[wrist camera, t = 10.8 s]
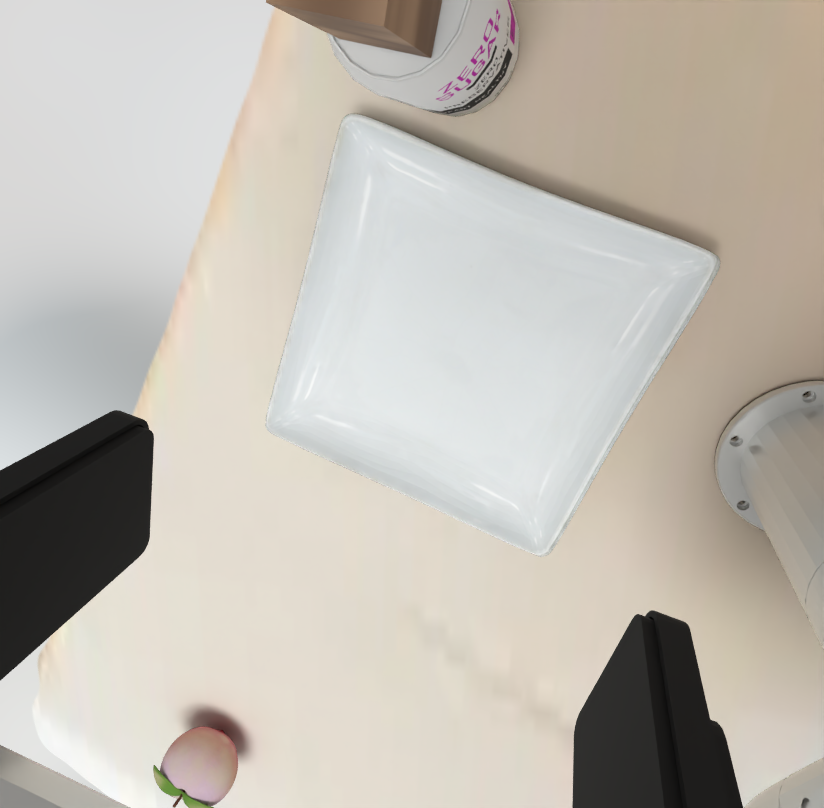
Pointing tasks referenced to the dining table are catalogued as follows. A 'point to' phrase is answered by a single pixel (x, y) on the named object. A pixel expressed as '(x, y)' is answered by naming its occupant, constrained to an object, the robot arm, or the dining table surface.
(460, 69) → the supplement can
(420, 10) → the walnut block
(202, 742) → the decorative fruit
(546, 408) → the square plate
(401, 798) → the dining table surface
